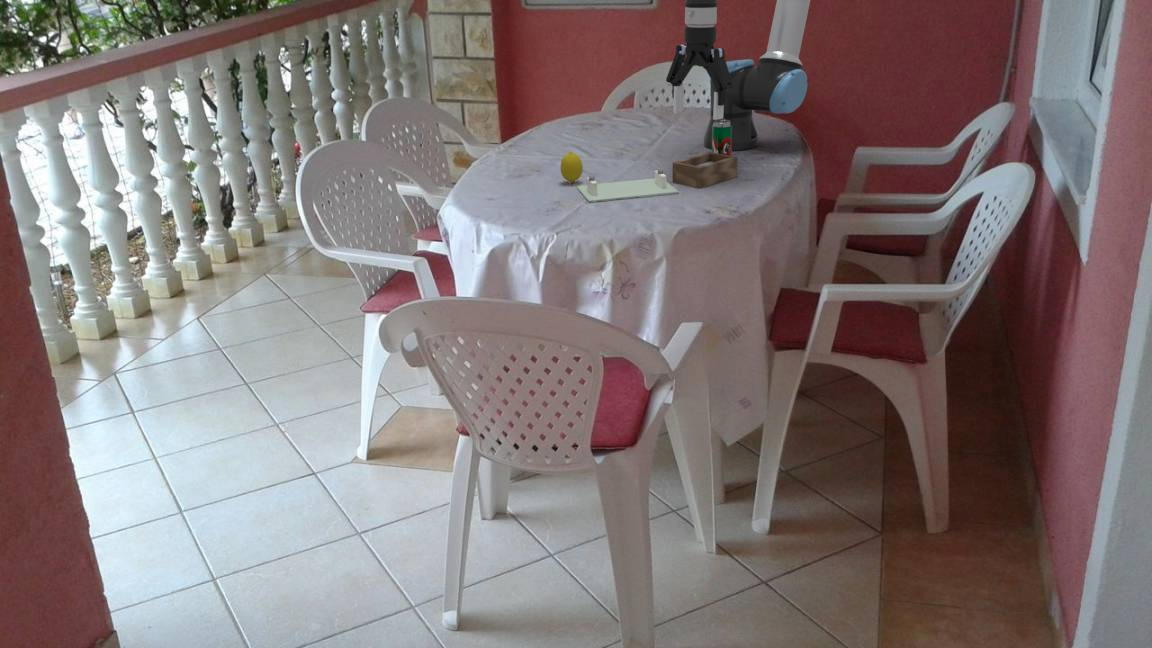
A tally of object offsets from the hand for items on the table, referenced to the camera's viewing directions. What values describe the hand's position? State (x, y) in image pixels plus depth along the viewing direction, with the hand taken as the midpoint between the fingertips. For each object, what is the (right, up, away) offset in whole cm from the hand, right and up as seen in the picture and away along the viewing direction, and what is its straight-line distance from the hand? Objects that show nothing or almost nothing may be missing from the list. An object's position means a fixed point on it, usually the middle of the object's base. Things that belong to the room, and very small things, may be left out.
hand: (697, 115), depth 252 cm
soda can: (+8, -10, +16) cm, 20 cm away
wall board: (-18, -19, -2) cm, 26 cm away
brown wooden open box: (+2, -15, +5) cm, 16 cm away
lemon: (-31, -16, +7) cm, 35 cm away
